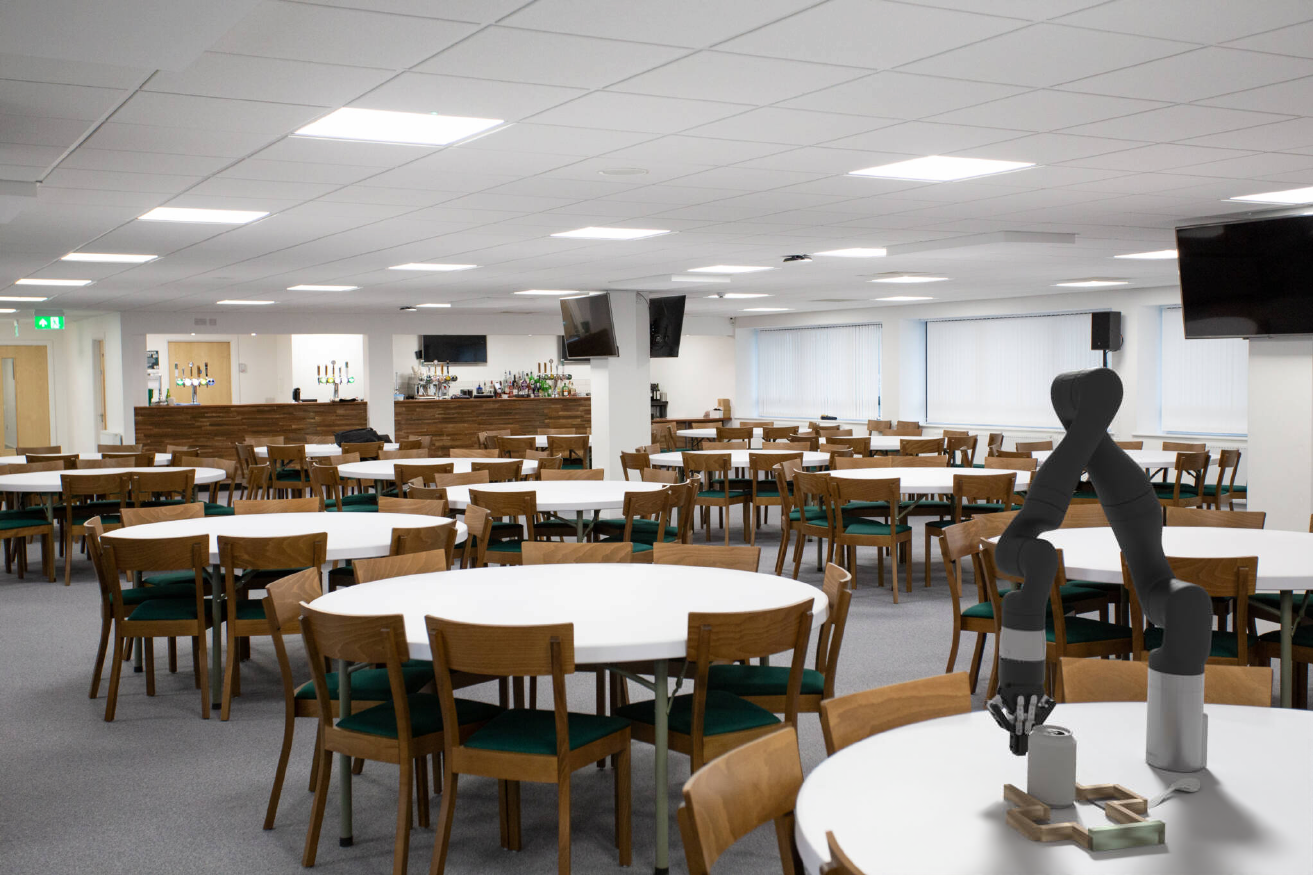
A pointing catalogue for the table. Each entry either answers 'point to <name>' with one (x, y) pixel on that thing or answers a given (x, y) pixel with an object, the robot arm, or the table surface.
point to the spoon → (1188, 783)
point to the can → (1052, 765)
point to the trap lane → (1116, 805)
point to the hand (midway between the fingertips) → (1018, 754)
